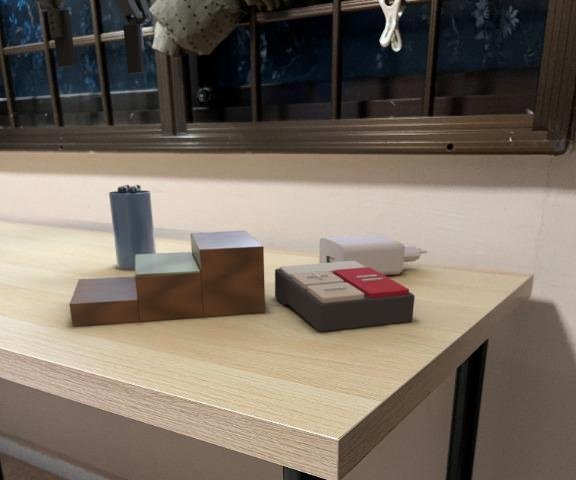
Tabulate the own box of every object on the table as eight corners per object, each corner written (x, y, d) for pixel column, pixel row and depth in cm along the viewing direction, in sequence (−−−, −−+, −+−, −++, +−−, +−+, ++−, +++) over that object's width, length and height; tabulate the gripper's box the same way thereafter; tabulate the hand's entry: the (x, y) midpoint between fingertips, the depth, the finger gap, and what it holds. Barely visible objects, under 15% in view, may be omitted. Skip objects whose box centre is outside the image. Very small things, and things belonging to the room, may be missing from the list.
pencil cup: (125, 261, 98) (117, 184, 93) (162, 262, 97) (155, 184, 92) (111, 269, 92) (101, 187, 88) (149, 270, 92) (141, 187, 87)
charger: (438, 273, 88) (342, 281, 84) (407, 261, 96) (318, 268, 92) (441, 239, 86) (343, 246, 82) (410, 230, 94) (319, 236, 90)
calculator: (320, 297, 61) (273, 262, 73) (319, 338, 63) (273, 296, 75) (417, 288, 64) (356, 255, 77) (413, 326, 66) (354, 289, 79)
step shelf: (72, 326, 65) (62, 256, 62) (81, 299, 76) (72, 238, 73) (265, 312, 69) (263, 246, 67) (247, 288, 80) (245, 230, 77)
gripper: (22, -151, 69) (52, 60, 77) (166, -89, 89) (178, 74, 97) (-20, -136, 72) (13, 64, 81) (128, -80, 92) (143, 76, 101)
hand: (103, 70), depth 89 cm, fingers open, 13 cm apart
